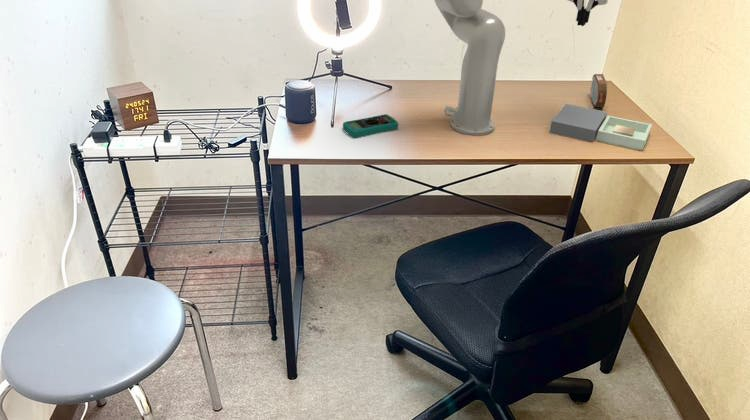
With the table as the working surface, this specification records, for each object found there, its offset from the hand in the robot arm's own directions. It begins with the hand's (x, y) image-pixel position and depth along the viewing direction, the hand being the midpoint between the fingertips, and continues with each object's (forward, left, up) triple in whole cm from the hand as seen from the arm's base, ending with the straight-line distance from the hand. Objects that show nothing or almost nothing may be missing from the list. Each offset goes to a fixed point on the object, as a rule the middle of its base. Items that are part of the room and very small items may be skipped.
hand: (581, 24), depth 153 cm
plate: (+6, -6, -27) cm, 28 cm away
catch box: (+19, -6, -27) cm, 33 cm away
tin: (+6, +18, -27) cm, 33 cm away
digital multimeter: (-44, -39, -28) cm, 65 cm away
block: (+18, -6, -25) cm, 31 cm away
